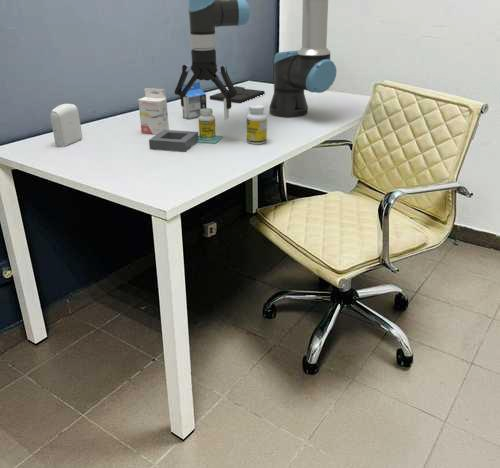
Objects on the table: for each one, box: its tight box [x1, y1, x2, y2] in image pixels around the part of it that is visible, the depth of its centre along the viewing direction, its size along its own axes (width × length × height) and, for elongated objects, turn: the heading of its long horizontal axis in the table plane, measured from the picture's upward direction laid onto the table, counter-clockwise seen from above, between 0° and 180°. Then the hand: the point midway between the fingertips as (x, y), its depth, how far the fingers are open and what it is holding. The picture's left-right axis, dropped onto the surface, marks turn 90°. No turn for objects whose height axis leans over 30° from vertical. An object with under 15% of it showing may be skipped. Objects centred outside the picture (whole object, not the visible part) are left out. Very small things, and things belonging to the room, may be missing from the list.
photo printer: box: [49, 103, 83, 148], centre depth 164 cm, size 10×4×12 cm, turn 158°
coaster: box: [196, 134, 223, 145], centre depth 168 cm, size 8×8×1 cm
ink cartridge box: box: [138, 87, 170, 136], centre depth 173 cm, size 9×5×15 cm, turn 71°
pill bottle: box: [246, 104, 268, 145], centre depth 163 cm, size 6×6×12 cm
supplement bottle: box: [198, 107, 217, 140], centre depth 166 cm, size 5×5×10 cm
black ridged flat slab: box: [209, 85, 266, 104], centre depth 227 cm, size 16×3×21 cm
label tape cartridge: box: [181, 81, 208, 120], centre depth 193 cm, size 9×4×12 cm, turn 131°
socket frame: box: [148, 129, 199, 153], centre depth 163 cm, size 12×12×3 cm
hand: (206, 117), depth 165 cm, fingers open, 13 cm apart
